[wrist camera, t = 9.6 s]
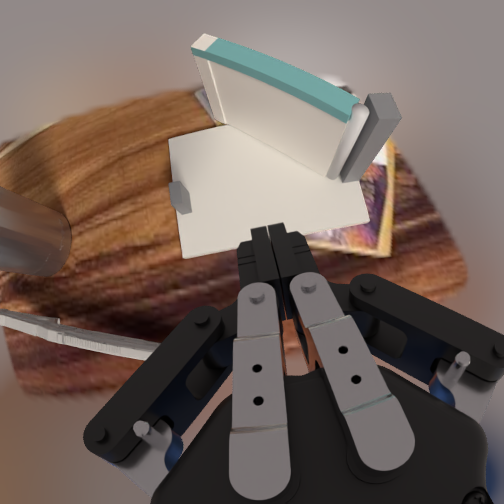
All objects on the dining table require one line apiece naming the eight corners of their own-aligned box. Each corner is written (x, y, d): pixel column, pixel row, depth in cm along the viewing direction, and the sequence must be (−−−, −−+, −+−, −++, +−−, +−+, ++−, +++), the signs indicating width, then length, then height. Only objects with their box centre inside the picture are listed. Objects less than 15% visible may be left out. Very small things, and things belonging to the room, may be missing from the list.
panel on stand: (185, 258, 35) (126, 232, 20) (170, 142, 37) (123, 70, 22) (367, 222, 34) (424, 175, 19) (332, 111, 36) (356, 29, 21)
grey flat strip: (18, 307, 34) (-14, 308, 27) (224, 343, 37) (226, 356, 30) (17, 320, 34) (-15, 324, 26) (223, 358, 37) (224, 374, 29)
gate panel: (214, 119, 36) (190, 46, 23) (224, 107, 36) (204, 33, 23) (333, 184, 34) (363, 124, 21) (341, 170, 34) (373, 107, 21)
